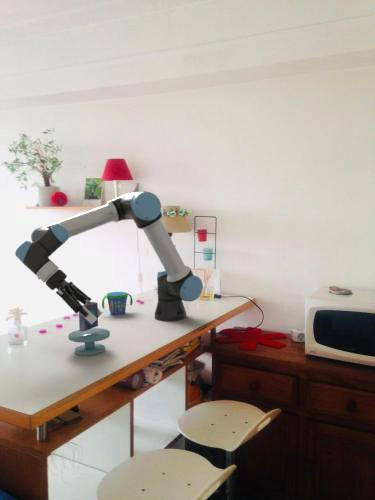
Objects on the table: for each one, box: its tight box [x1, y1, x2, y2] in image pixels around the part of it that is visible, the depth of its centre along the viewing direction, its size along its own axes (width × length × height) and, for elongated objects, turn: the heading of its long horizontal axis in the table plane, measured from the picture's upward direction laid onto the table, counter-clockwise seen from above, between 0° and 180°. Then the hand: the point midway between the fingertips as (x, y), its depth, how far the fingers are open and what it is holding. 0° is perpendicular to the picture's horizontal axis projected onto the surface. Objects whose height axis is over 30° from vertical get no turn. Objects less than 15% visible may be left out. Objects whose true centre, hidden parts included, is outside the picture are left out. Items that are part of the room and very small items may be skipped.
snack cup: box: [101, 291, 134, 316], centre depth 222 cm, size 16×10×10 cm
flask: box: [78, 300, 99, 332], centre depth 164 cm, size 9×3×11 cm, turn 151°
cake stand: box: [68, 327, 111, 357], centre depth 165 cm, size 15×15×6 cm
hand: (97, 318), depth 164 cm, fingers closed on flask, 8 cm apart
